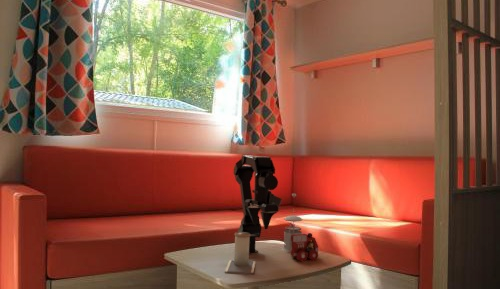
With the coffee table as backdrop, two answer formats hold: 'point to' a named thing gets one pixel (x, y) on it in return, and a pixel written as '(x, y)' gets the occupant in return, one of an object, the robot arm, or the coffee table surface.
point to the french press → (291, 231)
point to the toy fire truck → (304, 247)
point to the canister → (241, 249)
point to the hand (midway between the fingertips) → (260, 227)
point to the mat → (240, 268)
